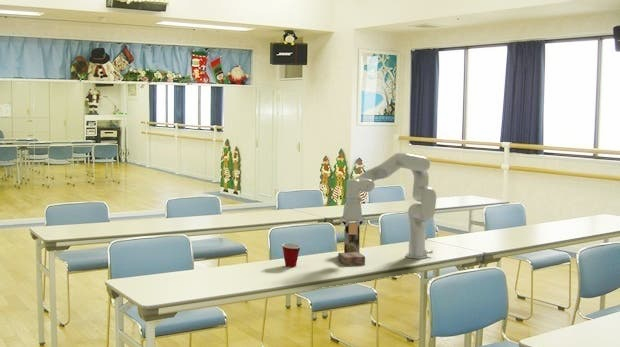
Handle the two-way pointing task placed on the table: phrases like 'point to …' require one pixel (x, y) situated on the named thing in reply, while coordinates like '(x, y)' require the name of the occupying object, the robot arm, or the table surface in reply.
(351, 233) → the orange block
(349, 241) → the coffee box
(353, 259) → the walnut block
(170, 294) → the table surface
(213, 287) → the table surface
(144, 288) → the table surface
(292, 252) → the plastic cup
